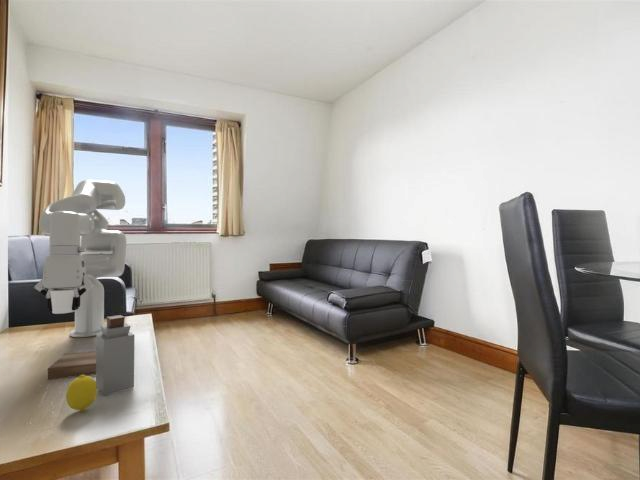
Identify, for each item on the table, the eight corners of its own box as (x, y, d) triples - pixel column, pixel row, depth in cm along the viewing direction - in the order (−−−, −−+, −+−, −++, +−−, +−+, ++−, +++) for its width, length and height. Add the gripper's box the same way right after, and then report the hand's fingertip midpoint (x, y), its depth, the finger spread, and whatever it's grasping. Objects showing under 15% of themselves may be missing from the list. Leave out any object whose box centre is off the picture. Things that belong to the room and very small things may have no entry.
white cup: (62, 314, 98) (62, 291, 98) (43, 313, 100) (44, 290, 100) (83, 310, 105) (83, 288, 105) (65, 309, 107) (66, 287, 107)
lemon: (76, 405, 75) (76, 370, 75) (102, 404, 76) (102, 369, 76) (59, 418, 70) (60, 380, 70) (87, 417, 70) (87, 379, 70)
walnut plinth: (64, 363, 100) (64, 353, 100) (110, 359, 104) (110, 349, 104) (47, 379, 89) (47, 368, 89) (99, 373, 93) (99, 363, 93)
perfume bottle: (95, 387, 84) (96, 317, 84) (125, 379, 89) (125, 312, 89) (103, 396, 80) (104, 321, 80) (133, 387, 85) (134, 317, 85)
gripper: (100, 251, 109) (99, 306, 109) (37, 251, 104) (36, 309, 103) (93, 251, 102) (92, 310, 102) (24, 251, 96) (23, 314, 96)
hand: (64, 309), depth 103 cm, fingers closed on white cup, 5 cm apart
